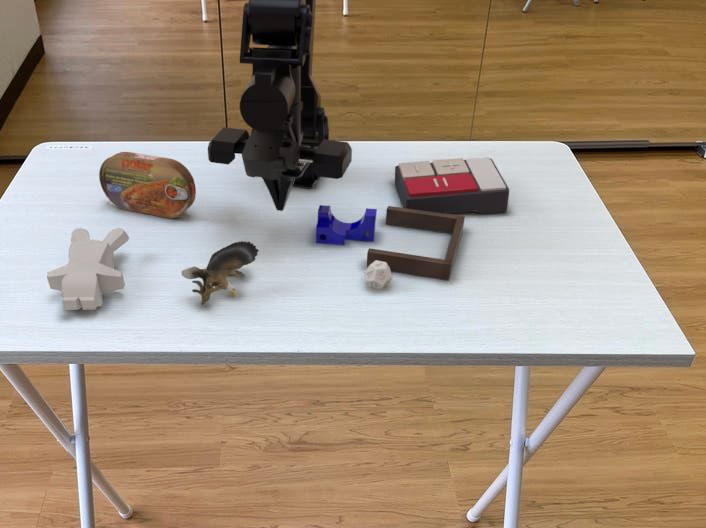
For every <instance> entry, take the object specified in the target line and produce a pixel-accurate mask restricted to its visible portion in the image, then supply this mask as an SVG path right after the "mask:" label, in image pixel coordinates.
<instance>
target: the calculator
mask: <svg viewBox="0 0 706 528" xmlns="http://www.w3.org/2000/svg"><path fill="white" fill-rule="evenodd" d="M394 186H395V189H396V191H397V192H396V193H398V197H399V200H400V203H401V206H402V208H407V209H415V210H422V211H429V212H436V213H444V214H457V213H468V212H469V213H470V212H477V213H479V214H480V215H488V214H489V215H490V214H501V213H507V211H508V205H509V196H510V188H509V186H508V184H507V183H506V181H505V179H504V178H503V176H502V174H501V172H500V170H499V169H498V167H497V166H496V163H495V162H494V159H492V158H491V157H489V156H483V157H471V158H465V159H464V158H463V157H457V158H445V159H434V160H432V162H430V160H423V161H422V160H421V161H411V162H410V161H409V162H400V163H398V165H395V166H394Z"/></svg>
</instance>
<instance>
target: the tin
mask: <svg viewBox="0 0 706 528" xmlns="http://www.w3.org/2000/svg"><path fill="white" fill-rule="evenodd" d="M98 177H99V178H98V179H99V183H100V187H101V189H102V191H103V193H104V194H105V196H106V198H107V199H108V200H109V201H110V202H111V203H112V204H113V205H115V206H116V207H118V208H119V209H122V210H124V211H127V212H134V213H139V214H140V213H141V214H145V215H151V216H157V217H161V218H166V219H167V218H168V219H175V218H178V217H181V216H182V215H184V214H185V213H186V212H187V211H188V209H190V208H191V207H192V206H193V204H194V202H195V201H196V200H195V199H196V195H197V193H196V192H197V189H196V188H197V187H196V183H195V179H194V176H193V175H192V173H191V171H190V170H189V169H188V168H187V167H186V166H185V165H184V164H182V163H181V162H180V161H178V160H176V159H173V158H169V157H162V156H156V155H149V154H143V153H136V152H131V151H121V152H118V153H116V154H113V155H112V156H109V157H108V158H106V159H105V160H103V162H102V163H101V165H100V168H99V173H98Z"/></svg>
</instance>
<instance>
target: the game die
mask: <svg viewBox="0 0 706 528" xmlns="http://www.w3.org/2000/svg"><path fill="white" fill-rule="evenodd" d="M363 274H364V277H365V282H366V283H367V284H368V286H369V288H372V289H377V290H382V289H383V288H385V287H386V286H387V285H388V283H390V281H391V280H392V279H393V274H392V272H391V270H390V268H389V266H388V264H387V263H386V262H382V261H377V260H376V261H374V262H373V263H372V264H370V265H369V267H368V268H367V267H366V269H365V270H364V272H363Z"/></svg>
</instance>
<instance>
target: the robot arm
mask: <svg viewBox="0 0 706 528" xmlns="http://www.w3.org/2000/svg"><path fill="white" fill-rule="evenodd" d="M316 1H317V0H248V2H245V3H244V6H243V11H242V23H241V24H242V25H241V36H240V37H241V38H240V51H239V64H245V65H246V64H247V65H248V64H249V65H252V67H251V68H252V73H251V77H250V79H249V82H248V83H247V85H246V87H245V89H244V91H243V93H242V95H241V97H240V101H239V110H240V111H239V113H240V115H241V118H242V120H243V121H244V122H245V124H246V125H247V126H249V128H250V129H251V132H250V133H249V131H248V130H247V129H243V128H242V129H241V128H233V127H225V126H224V127H222V128H221V129H220V130H219V131H218V132H217V134H216V135H215V136H214V137H213V138H212V139H211V140H210V141H209V142H208V146H207V157H208V161H209V162H210V163H212V164H213V163H214V164H222V165H230V164H231V163H232V162H234V160H235V159H236V154H237V155H238V154H239V155H241V158H242V163H243V167H244V171H245V175H246V176H247V177H250V178H261V179H262V181H263V182H264V184H265V186H266V188H267V190H268V193H269V195H270V197H271V200H272V202H273V204H274V207H275V209H276V211H278V212H284V210H285V207H286V205H287V203H288V199H289V197H290V194H291V191H292V189H293V187H296V188H297V187H298V188H303V189H304V188H306V189H312V188H313V187H314V186H315V183H316V182H317V181H318V180H319V178H326V179H333V180H338V179H342V178H343V177H344V175H345V173H346V171H347V170H348V168H349V166H350V165H351V163H352V158H353V153H352V152H353V148H352V146H351V145H350V143H349V142H348V141H342V140H341V141H340V140H332V139H330V127H329V126H330V125H329V118H328V116H327V115H326V111H325V107H324V106H321V105H322V103H321V102H322V96H321V92H320V91H319V88H318V86H317V85H316V82H315V80H314V78H313V76H312V75H313V58H314V42H315V41H314V40H315V20H316V6H317V5H316ZM251 42H252V44H253V45H256V46H266V47H256V46H255V47H253V46H250V44H251Z"/></svg>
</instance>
